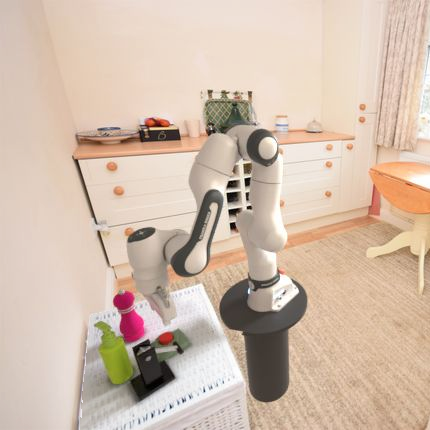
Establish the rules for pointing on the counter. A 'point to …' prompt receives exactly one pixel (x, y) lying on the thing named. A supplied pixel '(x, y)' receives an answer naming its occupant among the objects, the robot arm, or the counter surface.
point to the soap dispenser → (114, 355)
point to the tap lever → (163, 349)
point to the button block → (171, 344)
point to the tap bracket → (149, 372)
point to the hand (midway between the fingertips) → (160, 316)
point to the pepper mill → (128, 316)
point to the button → (165, 338)
